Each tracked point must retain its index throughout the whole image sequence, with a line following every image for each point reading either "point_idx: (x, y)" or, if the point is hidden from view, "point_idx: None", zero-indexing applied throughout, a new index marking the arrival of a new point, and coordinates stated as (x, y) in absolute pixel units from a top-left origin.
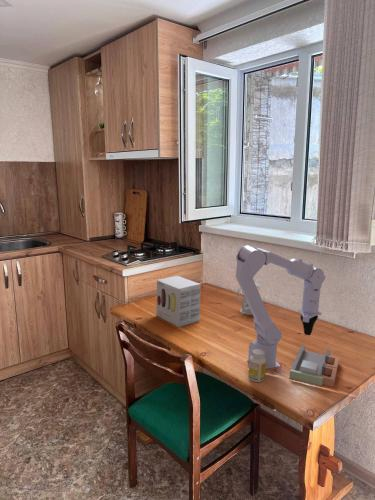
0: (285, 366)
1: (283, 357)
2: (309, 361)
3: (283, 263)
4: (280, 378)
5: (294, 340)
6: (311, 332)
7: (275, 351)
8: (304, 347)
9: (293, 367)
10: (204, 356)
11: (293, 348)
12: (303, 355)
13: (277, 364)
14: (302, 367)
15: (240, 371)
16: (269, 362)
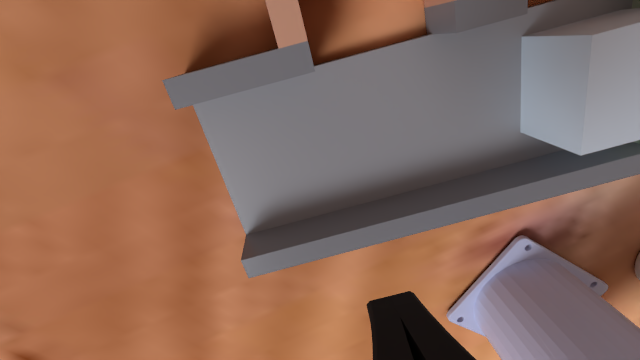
0: (493, 221)
1: (401, 272)
2: (588, 108)
3: None
4: (630, 181)
5: (150, 330)
6: (405, 316)
7: (611, 323)
8: (281, 247)
9: (625, 168)
10: None
11: (256, 288)
12: (321, 211)
13: (517, 254)
14: None
15: (631, 319)
16: (585, 284)
